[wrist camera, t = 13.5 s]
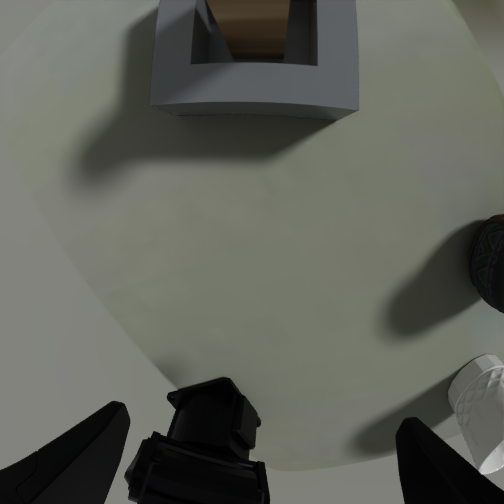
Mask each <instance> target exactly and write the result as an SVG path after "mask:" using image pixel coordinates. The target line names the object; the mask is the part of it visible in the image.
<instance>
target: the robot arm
mask: <svg viewBox="0 0 504 504" xmlns="http://www.w3.org/2000/svg"><path fill="white" fill-rule="evenodd" d="M225 383H228V384H225ZM172 397H173V398H172ZM167 400H168V401H169V402H170V403H171V404H172V406H173V407H174V408H175V409H176V411H175V414H174V416H173V419H172V422H171V425H170V428H169V431H168V433H167V436H163V435H161V434H160V433H158V432H155V431H154V432H153V434H152V436H151V438H149V437H148V439H144V440H143V441H142V443H141V445H140V448H139V450H138V452H137V454H136V456H135V458H134V460H133V461H132V463H131V464H130V466H129V467H128V469H127V471H126V472H125V476H124V478H125V480H126V481H127V483H128V485H129V487H128V490H129V496H128V500H131V501H133V502H137V504H270V495H269V488H268V482H267V475H266V469H265V463H264V462H260V461H257V462H255V461H250V460H249V451H250V450H251V449H254V447H255V441H256V428H257V427H259V426H260V425H261V420H260V418H259V417H258V416H257V415H258V413H257V412H256V410H255V409H254V408H253V406H252V405H251V404H250V402H249V401H248V399H247V398H246V397H245V396H244V395H242V394H241V393H240V391H239V390H238V388H237V387H236V386H235V384H234V383H233V381H232V380H231V379H230V378H226V377H225V378H221V379H218V380H214V381H211V382H207V383H203V384H200V385H196V386H192V387H188V388H185V389H181V390H177V391H173V392H170V393H168V395H167ZM129 427H130V417H129V414H128V411H127V408H126V406H125V404H124V403H122V402H118V401H112V402H110V403H108V404H107V405H106V406H104V407H102V408H101V409H99V410H98V411H97V412H95V413H94V414H92V415H91V416H89V417H88V418H86V419H85V420H83V421H82V422H80V423H79V424H77V425H76V426H74V427H73V428H71V429H70V430H68V431H67V432H65V433H64V434H62V435H60V436H59V437H57V438H56V439H54V440H53V441H51V442H50V443H48V444H46V445H45V446H43V447H42V448H40V449H39V450H38V451H35V452H34V453H32V454H31V455H29V456H27V457H25V458H24V459H22V460H20V461H18V462H17V463H14V464H12V465H10V466H8V467H6V468H4V469H2V470H0V504H104V503H105V500H106V498H107V495H108V492H109V489H110V487H111V484H112V482H113V479H114V477H115V474H116V471H117V469H118V466H119V463H120V461H121V457H122V453H123V450H124V446H125V441H126V438H127V434H128V430H129ZM395 439H396V448H397V458H398V469H399V476H400V482H401V487H402V492H403V497H404V502H405V504H504V491H503V490H502V489H500V488H499V487H497V486H496V485H495V484H494V483H492V482H491V481H490V480H489V479H487V478H486V477H485V476H484V475H483V474H481V473H480V472H479V471H478V470H477V469H476V468H474V467H473V466H472V465H471V464H470V463H469V462H467V461H466V460H465V459H464V458H463V457H462V456H461V455H459V454H458V453H457V452H456V451H455V450H454V449H452V448H451V447H450V446H449V445H448V444H447V443H445V441H443V440H442V439H441V438H440V437H439V436H438V435H437V434H435V433H434V432H433V431H432V430H431V429H430V428H429V427H427V426H426V425H425V424H424V423H423V422H422V421H421V420H419V419H418V418H417V417H409V418H405V419H404V420H403V422H402V423H401V425H400V427H399V429H398V431H397V433H396V437H395Z"/></svg>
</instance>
